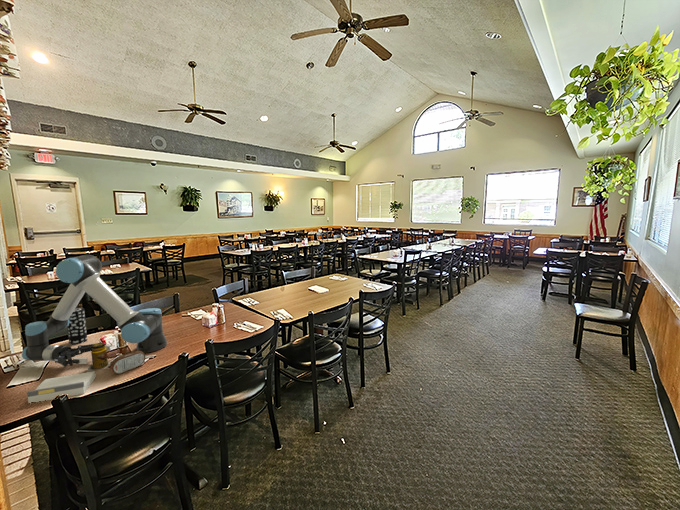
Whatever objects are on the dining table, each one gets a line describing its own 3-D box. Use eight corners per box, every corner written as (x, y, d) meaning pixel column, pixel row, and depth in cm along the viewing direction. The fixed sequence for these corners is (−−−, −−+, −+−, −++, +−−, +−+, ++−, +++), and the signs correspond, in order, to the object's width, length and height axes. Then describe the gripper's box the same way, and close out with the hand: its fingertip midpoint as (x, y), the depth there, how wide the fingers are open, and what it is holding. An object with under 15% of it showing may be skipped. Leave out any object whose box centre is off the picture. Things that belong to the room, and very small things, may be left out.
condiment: (108, 367, 148) (105, 345, 146) (86, 372, 143) (83, 349, 142) (109, 361, 154) (107, 340, 152) (88, 366, 149) (86, 344, 148)
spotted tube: (90, 340, 179) (87, 308, 176) (74, 345, 171) (71, 313, 168) (81, 338, 182) (78, 307, 179) (65, 343, 174) (61, 311, 171)
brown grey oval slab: (144, 362, 154) (142, 347, 152) (147, 364, 152) (145, 349, 151) (110, 375, 141) (108, 359, 140) (113, 377, 139) (111, 361, 138)
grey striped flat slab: (95, 377, 139) (94, 367, 139) (83, 394, 126) (82, 383, 126) (46, 385, 132) (44, 375, 131) (28, 404, 119) (26, 392, 119)
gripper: (80, 348, 161) (118, 349, 160) (32, 373, 136) (77, 374, 136) (79, 336, 160) (117, 337, 159) (30, 358, 135) (75, 359, 135)
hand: (98, 354), depth 147 cm, fingers open, 13 cm apart
